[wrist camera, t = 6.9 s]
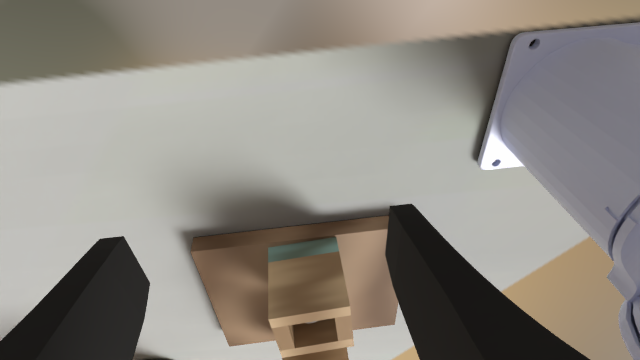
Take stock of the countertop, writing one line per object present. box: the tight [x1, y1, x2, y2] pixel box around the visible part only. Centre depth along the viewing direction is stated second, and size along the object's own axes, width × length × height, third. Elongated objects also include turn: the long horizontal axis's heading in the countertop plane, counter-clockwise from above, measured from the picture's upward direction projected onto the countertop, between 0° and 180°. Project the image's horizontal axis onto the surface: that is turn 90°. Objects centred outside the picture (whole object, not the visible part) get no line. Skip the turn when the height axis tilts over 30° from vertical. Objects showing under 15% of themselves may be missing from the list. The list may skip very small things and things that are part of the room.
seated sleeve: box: [282, 347, 349, 360], centre depth 27 cm, size 4×4×5 cm
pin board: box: [191, 215, 398, 346], centre depth 26 cm, size 14×12×5 cm
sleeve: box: [268, 237, 354, 358], centre depth 23 cm, size 4×4×5 cm
